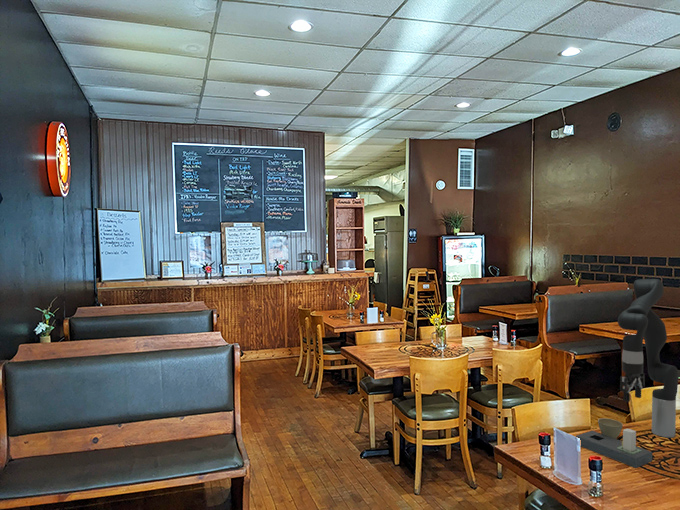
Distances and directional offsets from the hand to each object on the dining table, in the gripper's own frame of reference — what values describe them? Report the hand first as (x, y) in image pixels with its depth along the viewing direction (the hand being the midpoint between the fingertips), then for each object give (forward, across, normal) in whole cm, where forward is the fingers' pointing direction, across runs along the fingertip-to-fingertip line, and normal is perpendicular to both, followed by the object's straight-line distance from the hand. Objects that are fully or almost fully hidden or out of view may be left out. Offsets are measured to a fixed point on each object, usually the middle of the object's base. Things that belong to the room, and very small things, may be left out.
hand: (632, 399), depth 199 cm
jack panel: (+25, +2, -7) cm, 26 cm away
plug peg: (+25, +2, 0) cm, 25 cm away
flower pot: (+25, -13, -17) cm, 33 cm away
